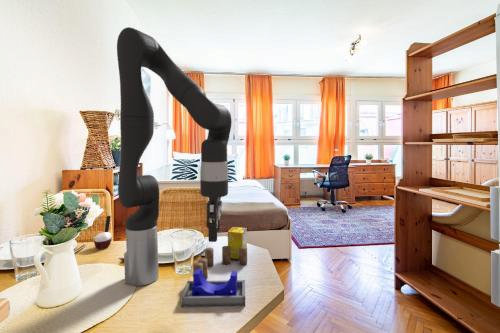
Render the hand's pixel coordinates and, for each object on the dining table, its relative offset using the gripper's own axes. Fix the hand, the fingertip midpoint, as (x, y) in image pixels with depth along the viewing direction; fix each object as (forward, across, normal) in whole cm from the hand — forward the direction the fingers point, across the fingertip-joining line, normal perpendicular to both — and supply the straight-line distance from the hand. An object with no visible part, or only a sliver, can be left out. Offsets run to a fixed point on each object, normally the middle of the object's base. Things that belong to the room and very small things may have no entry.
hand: (214, 235), depth 76 cm
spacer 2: (+18, +11, +5) cm, 21 cm away
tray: (+18, 0, 0) cm, 18 cm away
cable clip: (+17, 0, 0) cm, 17 cm away
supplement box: (+18, +26, -6) cm, 33 cm away
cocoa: (+19, +38, +50) cm, 65 cm away
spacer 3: (+18, +20, +4) cm, 27 cm away
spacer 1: (+18, +8, +6) cm, 20 cm away
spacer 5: (+18, +21, -8) cm, 29 cm away
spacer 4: (+18, +21, -2) cm, 28 cm away
